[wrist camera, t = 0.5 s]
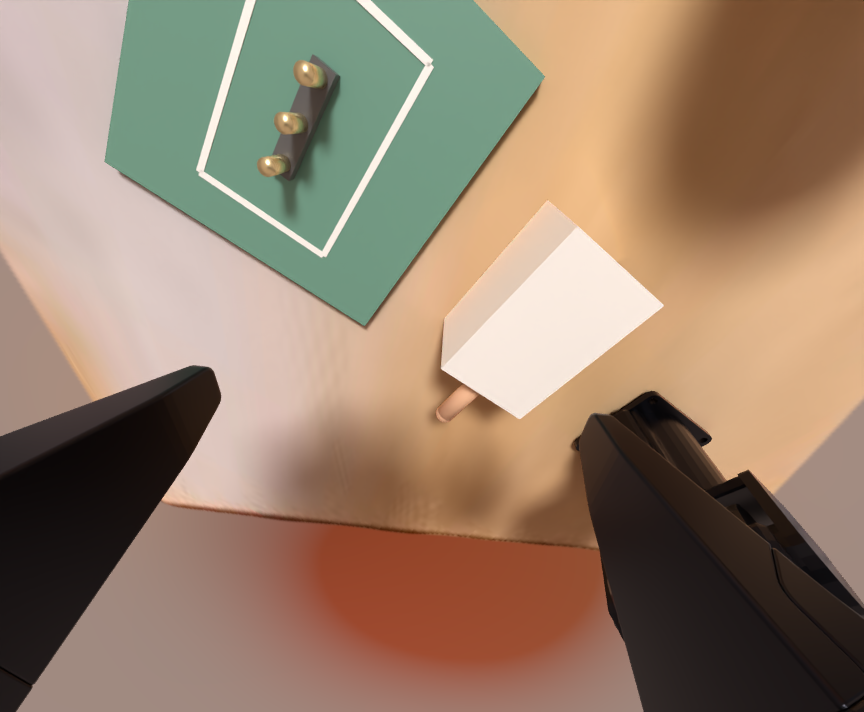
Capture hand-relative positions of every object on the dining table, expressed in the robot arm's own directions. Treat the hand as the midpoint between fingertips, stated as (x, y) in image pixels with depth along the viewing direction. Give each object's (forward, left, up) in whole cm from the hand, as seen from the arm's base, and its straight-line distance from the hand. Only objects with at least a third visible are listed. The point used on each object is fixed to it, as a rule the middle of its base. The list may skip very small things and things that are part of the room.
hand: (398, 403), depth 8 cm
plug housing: (-5, 0, -12) cm, 13 cm away
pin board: (+8, -1, -12) cm, 14 cm away
